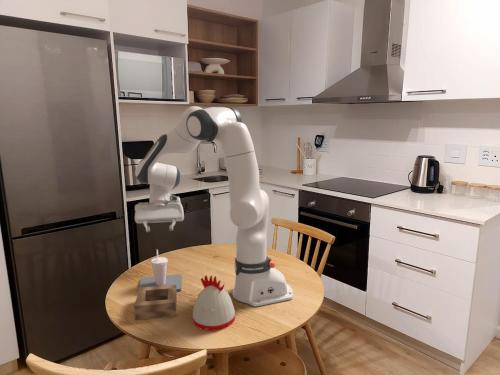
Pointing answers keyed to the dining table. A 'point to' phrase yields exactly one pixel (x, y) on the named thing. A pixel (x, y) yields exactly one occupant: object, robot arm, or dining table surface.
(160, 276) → the smoothie
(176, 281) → the rubber mat
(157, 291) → the holder collar
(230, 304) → the kitchen timer
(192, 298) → the dining table surface
